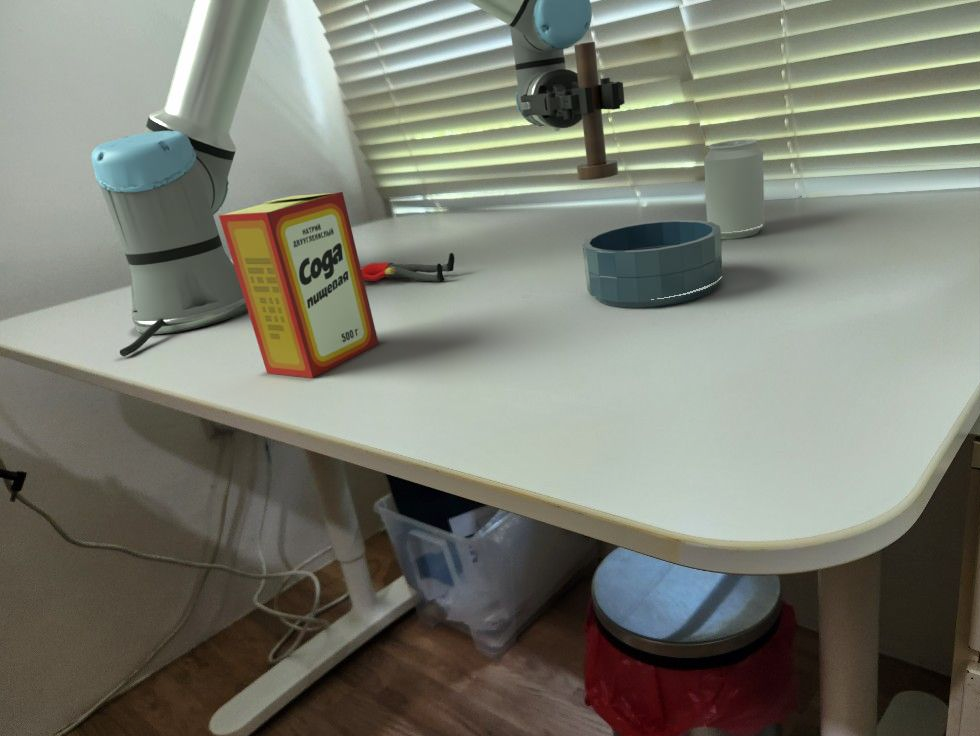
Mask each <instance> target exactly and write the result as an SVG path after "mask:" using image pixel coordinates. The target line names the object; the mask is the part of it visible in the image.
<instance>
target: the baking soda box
mask: <svg viewBox="0 0 980 736" xmlns="http://www.w3.org/2000/svg"><path fill="white" fill-rule="evenodd" d="M218 218H219V221H220V224H221V228H222V231H223V234H224V238H225V240H226V244H227V247H228V251H229V254H230V257H231V262H232V263H233V264H234V267H235V270H236V274H237V277H238V280H239V283H240V287H241V290H242V293H243V296H244V300H245V303H246V306H247V309H248V310H247V312H248V315H249V319H250V322H251V326H252V329H253V332H254V335H255V338H256V342H257V345H258V348H259V351H260V354H261V355H260V356H261V358H262V361H263V365H264V368H265V372H266V374H269V375H271V374H272V375H280V376H281V375H282V376H289V377H299V378H307V379H308V378H309V379H314V378H316V377H318V376H320V375H322V374H325V372H327V371H330V370H332V369H333V368H335V367H337V366H339V365H341V364H343V363H344V362H347V361H348V360H350V359H352V358H354V357H356V356H358V355H360V354H361V353H363V352H365V351H368V350H369V349H371V348H373V347H375V346H377V345H379V344H380V343H379V339H378V335H377V330H376V326H375V322H374V318H373V315H372V314H373V313H372V310H371V306H370V301H369V297H368V293H367V288H366V285H365V280H363V276H362V271H361V269H362V267H361V264H360V259H359V255H358V251H357V246H356V242H355V238H354V234H353V230H352V226H351V222H350V216H349V214H348V209H347V205H346V201H345V197H344V192H343V191H335V192H323V193H308V194H306V193H305V194H295V195H291V196H290V195H289V196H286V197H282V198H277V199H276V198H275V199H272V200H267V201H266V202H264V201H263V202H262V203H261V204H257V205H254V206H250V207H246V208H243V209H239V210H235V211H234V210H233V211H230V212H227V213H224V214H223V213H222V214H219V215H218Z"/></svg>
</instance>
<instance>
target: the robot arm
mask: <svg viewBox="0 0 980 736" xmlns="http://www.w3.org/2000/svg"><path fill="white" fill-rule="evenodd" d="M466 1H467V2H469V3H471V4H472V5H474V6H476V7H477V8H479V9H480V10H483V12H486V13H488V14H489V15H491V16H492V17H495V18H496V19H498V20H500V21H501V22H503V23H505V24H507V25H508V26H509V31H510V37H511V44H512V50H513V51H512V52H513V58H514V67H515V76H516V83H517V88H516V93H515V104H516V108H517V110H518V112H519V114H520V115H521V116H522V118H523V119H525V121H527V122H528V123H530V124H532V125H534V126H538V127H552V128H553V130H554V131H555V132H558V131H560V130H561V129H568V128H572V127H574V126H576V125H577V124H579V123H580V122H582V113H583V114H589V113H594V109H593V99H592V89H591V87H585V88H579V85H578V76H577V71H576V72H575V71H574V70H572V69H567V68H566V59H565V58H566V57H565V52H564V50H566V49H569V48H571V47H574V45H576V44H578V42H579V41H581V40H582V39H583V38H584V37H585V36H586V34H587V32H588V31H589V29H590V27H591V24H592V18H593V7H592V3H591V0H466ZM269 3H270V0H194V1H193V4H192V8H191V12H190V15H189V19H188V21H187V26H186V29H185V33H184V36H183V40H182V43H181V47H180V51H179V54H178V58H177V61H176V64H175V69H174V72H173V76H172V79H171V82H170V86H169V90H168V93H167V97H166V100H165V104H164V106H163V107H162V108H161V109H159V110H156V111H153V112H151V113H148V114H149V115H148V118H147V122H146V125H145V128H144V132H143V133H138V134H133V135H129V136H128V135H127V136H124V137H120V138H118V139H114V140H109V141H106V142H103V143H101V144H99V145H97V146H96V147H95V148H94V149H93V150H92V152H91V155H90V156H91V163H92V165H93V170H94V177H95V181H96V183H97V184H98V185H99V188H100V190H101V193H102V195H103V198H104V201H105V203H106V206H107V209H108V213H109V214H110V217H111V220H112V223H113V225H114V228H115V230H116V234H117V236H118V238H119V242H120V244H121V247H122V250H123V253H124V255H125V257H126V261H127V264H128V267H129V269H130V275H131V276H130V277H131V278H130V280H131V281H130V282H131V283H130V285H131V287H130V289H131V305H132V308H131V319H132V322H133V324H134V328H135V329H136V331H137V332H138V333H140V336H139V337H138V338H136V340H134V341H133V342H132V343H131V344H129V345H128V346H125V347H123V348H121V349H120V350H119V355H120V356H122V357H127V356H129V355H131V354H132V353H134V352H136V351H137V350H138V349H140V348H142V347H143V345H144V344H146V343H147V341H148V340H150V339H151V337H152V336H153V335H162V334H170V333H171V334H172V333H178V332H183V331H188V330H193V329H194V330H195V329H198V328H202V327H206V326H210V325H213V324H217V323H219V322H222V321H225V320H229V319H231V318H234V317H236V316H238V315H241V314H243V313H245V312H248V309H247V306H246V303H245V300H244V296H243V293H242V290H241V287H240V283H239V280H238V277H237V274H236V270H235V267H234V264H233V261H232V259H230V257H229V256H228V255H227V253H226V251H225V248H224V246H223V242H222V240H221V236H220V233H219V229H218V226H217V223H216V220H215V216H214V215H215V214H216V213H217V212H218V211H219V210H220V209H221V208H222V206H223V205H224V203H225V201H226V199H227V196H228V192H229V187H228V186H229V174H230V172H231V168H232V165H233V161H234V158H235V155H236V151H237V146H236V145H235V143H234V141H233V139H232V136H231V133H230V131H231V128H232V124H233V121H234V118H235V115H236V112H237V108H238V105H239V102H240V99H241V95H242V93H243V89H244V86H245V83H246V78H247V75H248V73H249V69H250V66H251V62H252V59H253V56H254V52H255V50H256V47H257V43H258V40H259V37H260V33H261V30H262V26H263V23H264V20H265V16H266V13H267V11H268V7H269ZM624 89H625V88H624V82H622V81H613V80H612V81H611V78H610V77H605V78H600V79H599V90H600V100H601V110H620V109H621V106H623V105H625V102H626V101H625V92H624V91H625V90H624Z"/></svg>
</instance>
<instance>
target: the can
mask: <svg viewBox="0 0 980 736" xmlns="http://www.w3.org/2000/svg"><path fill="white" fill-rule="evenodd" d="M758 141H759V140H758V139H755V138H745V139H733V140H725V141H720V142H715V143H712V144H709V145H708V146H707V148H708V149H709V151H708V152H707V153H706V155H705V156H704V157H703V167H704V187H705V188H704V189H705V206H706V208H705V209H706V222H712V223H714V224H716V225H718V226H720V231H721V232H732V233H721V240H722V239H725V240H732V239H743V238H748V237H752V236H755V235H757V234H758V233H759V231H761V229H762V228H763V227H764V226H765V185H764V184H765V183H764V177H765V176H764V151H763V150H762V149H761V148H760V147H759V146H758V145H757V144H758ZM763 223H764V225H763V226H762V227H760V228H756V229H753V230H748V231H742V232H733V231H741V230H746V229H750V228H754V227H757V226H760V225H761V224H763Z"/></svg>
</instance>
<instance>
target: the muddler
mask: <svg viewBox="0 0 980 736" xmlns="http://www.w3.org/2000/svg"><path fill="white" fill-rule="evenodd" d="M573 47H574V48H573V49H574V56H575V66H576V73H577V76H578V85H579V88H585V87H591V89H592V99H593V109H594V113H589V114H583V113H582V120H581V122H582V130H583V139H584V149H585V157H586V163H582V164H579V165H577V166H576V172H577V173H576V174H577V179H578V180H579V181H591V180H600V179H605V178H610V177H615V176H617V175H619V166H618V164H619V163H618V160H614V159H609V160H607V152H606V142H605V131H604V123H603V122H604V121H603V112H602V111H603V109H601V100H600V90H599V85H600V79H599V72H598V71H599V70H598V62H597V61H598V60H597V50H596V42H595V41H588V42H583V43H575V44H574V45H573Z"/></svg>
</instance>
